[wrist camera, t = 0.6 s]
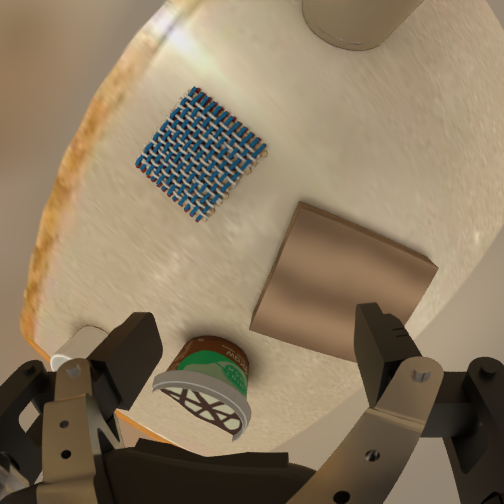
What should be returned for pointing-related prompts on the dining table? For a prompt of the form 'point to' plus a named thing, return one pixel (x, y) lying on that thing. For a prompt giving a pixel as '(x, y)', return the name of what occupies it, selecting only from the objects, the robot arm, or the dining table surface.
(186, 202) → the woven mat
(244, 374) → the food container
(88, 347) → the mug
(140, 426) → the dining table surface
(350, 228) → the walnut base
